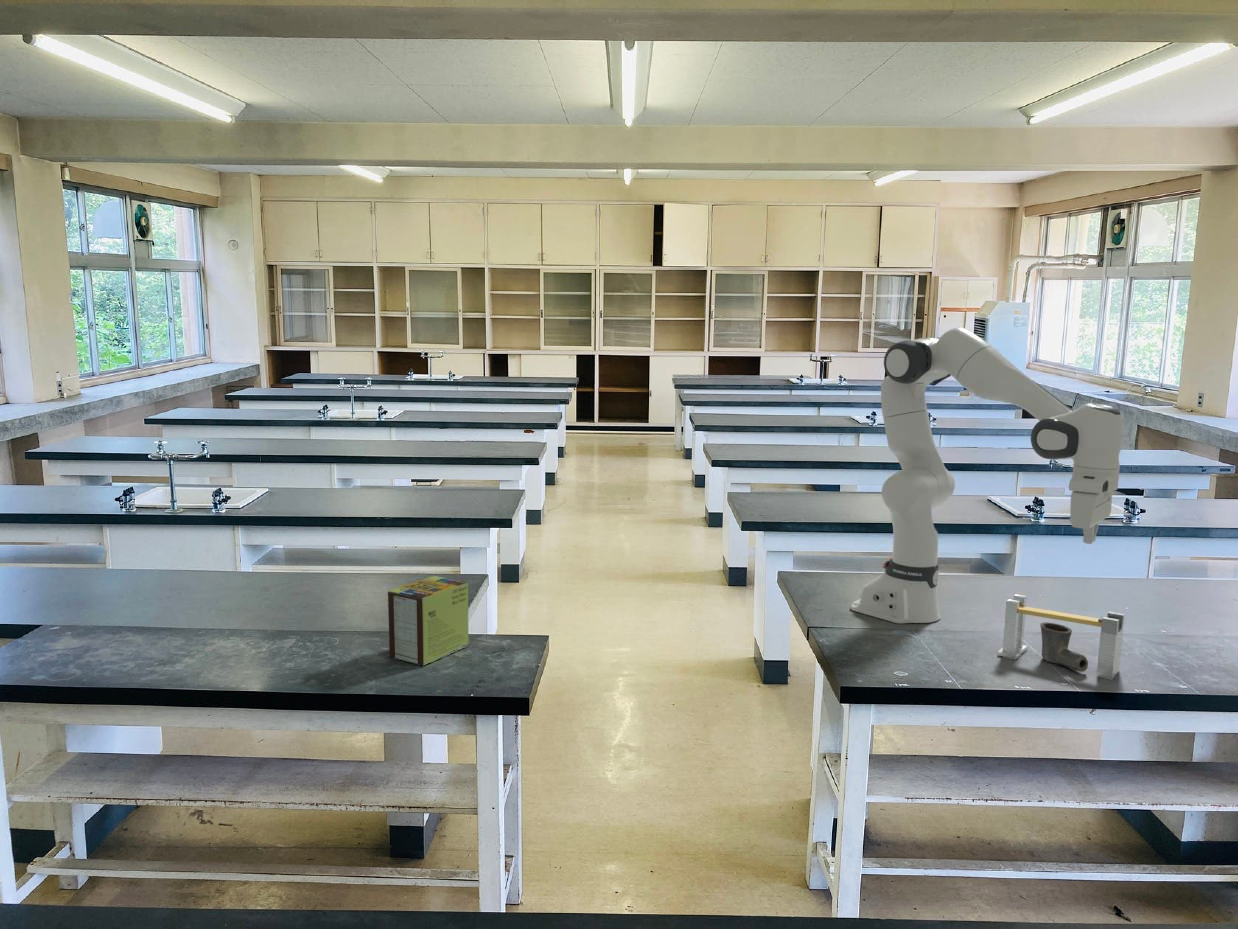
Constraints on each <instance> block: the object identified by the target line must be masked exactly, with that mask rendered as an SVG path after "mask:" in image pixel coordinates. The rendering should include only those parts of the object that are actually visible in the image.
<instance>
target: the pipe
mask: <svg viewBox="0 0 1238 929" xmlns="http://www.w3.org/2000/svg"><path fill="white" fill-rule="evenodd" d="M1039 626H1040V630H1041V657H1042V659H1043V660H1045V661H1046V662H1048V663H1052V664H1058V665H1061V666H1063V667H1066V668H1067V669H1070V670H1073V671H1076V672H1081V673H1084V672H1086V670H1087V669H1088V667H1089V662H1088V659H1087V657H1086V656H1085V655H1084V654H1081V653H1078V652H1076V651H1072V650H1069V644H1070V639H1071V637H1072V636H1071V635H1072V633H1073V630H1072V629H1071V628H1070V627H1068V626H1066V625H1063V624H1059V623H1055V622H1047V621H1046V622H1044V621H1043V622H1040V624H1039Z"/></svg>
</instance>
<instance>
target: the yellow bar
mask: <svg viewBox="0 0 1238 929" xmlns="http://www.w3.org/2000/svg"><path fill="white" fill-rule="evenodd" d="M1019 613H1020V614H1025V616H1026V615H1027V616H1031V617H1038V618H1039V617H1040V618H1045V619H1052V620H1056V621H1057V620H1058V621H1064V622H1069V623H1075V624H1081V625H1087V626H1093V627H1094V626H1095V627H1098V628H1101V625H1102V618H1103V617H1105V616H1104V615H1101V616H1100V617H1092V616H1086V615H1082V614H1081V615H1080V614H1074V613H1068V612H1061V611H1057V610H1050V609H1043V608H1037V607H1032V606H1031V607H1030V606H1026V607H1025V606H1020V605H1019ZM1108 618H1110V617H1108ZM1113 619H1116V618H1113Z"/></svg>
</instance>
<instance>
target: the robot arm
mask: <svg viewBox="0 0 1238 929" xmlns="http://www.w3.org/2000/svg"><path fill="white" fill-rule="evenodd" d="M883 369H884V371H885V373H886V375H887V376H885V377H884V379H883V380H882V382H881V384H880V385H881V386H880V404H881V411H882V419H883V425H884V429H885V430H884V431H885V435H886V441H887V445H888V448H889V450H890V451H891V453H892V454H894V455H895V457H896V459H897V461H898V463H899V465H900V468H901V470H899V471H897V472H895V473H893V474H892V475H891V476H889V477H888V478H887V479H886V480H885V481H884V483H883V484H882V487H881V499H882V501H883V503H884V505H885V506H886V507H887V508H888V511H889V513H890V517H891V518H890V519H891V523H892V530H893V531H892V532H893V540H892V541H893V542H892V557H891V558H889V559H888V560H887V561H885V563H883V564H882V565H883V566H882V569H884V573H882V574H880V575H878V576H877V577H875V578H874V579H872V580H870V581H868V582H867V583H866V584H865V585H864V586H863V588H862V590H861V593H860V598H858V599H856V600H854V601H853V602H852V603H851V606H850V609H851V611H853V612H857V613H861V614H863V615H868V616H871V617H874V618H876V619H877V618H878V619H881V620H885V621H888V622H892V623H894V624H910V623H911V624H913V623H914V624H919V623H920V624H927V623H928V624H929V623H934V622H937V621H939V620H940V619H941V614H940V610H939V605H938V597H937V596H938V595H937V594H938V593H937V586H938V582H939V564H938V555H939V554H938V553H939V540H940V539H939V538H940V536H939V532H938V531H937V529H936V528H935V525H934V522H933V516H932V508H934V507H938V506H941V505H943V504H944V503H945V502H946V501H947V500H948V499H950V497H952V495H953V494H954V492H955V488H956V485H955V479H954V475H953V474H952V473H951V472H950V471H949V470H948V469H947V468H946V467H945V466H946V465H945V464H944V462H943V460H942V458H941V455H940V453H939V451H938V449H937V446H936V444H935V440H934V437H933V432H932V427H931V422H930V417H929V412H928V405H927V401H926V396H925V395H926V394H925V393H926V390H927V388H928V386H929V385H930V386H936V385H938V384H939V383H941V382H942V381H945V380H946V379H948V378H949V377H953V379H954V380H956V381H957V383H958V384H960V385H961V386H962V387H963V388H965V390H966V391H968V392H970V393H971V394H973V395H975V396H977V397H979V398H981V399H984V400H988V401H996V402H1001V403H1006V404H1011V405H1013V406H1017V407H1019V408H1021V409H1023V410H1024V411H1026V412H1027V413H1029V414H1030V415H1031V416H1033V417H1034V418H1035V419H1037V420H1038V422H1036V424H1034V427H1032V430H1031V433H1030V444H1031V447H1032V449H1033V451H1034V452H1035V454H1037V455H1038V456H1039V457H1041V458H1043V459H1046V460H1049V461H1050V460H1051V461H1058V460H1073V461H1072V462H1073V467H1072V468H1073V470H1072V477H1071V479H1070V481H1069V484H1068V490H1069V491H1070V492H1071V494H1070V510H1069V511H1070V516H1069V517H1070V518H1069V519H1070V524H1071V527H1073V528H1077V529H1082V533H1083V540H1082V542H1083V543H1084V544H1089V545H1092V544H1093V543H1094V542H1095V541H1096V536H1097V532H1098V529H1099V527H1100V526H1099V524H1100V522H1102V521H1103V520H1105V519H1108V518H1109V517H1110V515H1111V512H1112V504H1113V502H1112V500H1113V491H1117V490H1118V488H1119V480H1120V478H1119V477H1120V469H1121V465H1120V460H1119V459H1120V457H1119V456H1120V453H1121V451H1122V448H1123V437H1124V436H1123V433H1124V430H1123V429H1124V428H1123V426H1124V421H1123V416H1122V413H1121V412H1120V410H1119V409H1117V408H1115V407H1114V406H1110V405H1107V404H1102V403H1097V402H1096V403H1095V402H1088V403H1083V404H1082V405H1081V406H1080V407H1078V408H1076V409H1073V408H1071V407H1070V406H1068V405H1067V404H1066V403H1065V402H1063V401H1062V400H1060V399H1059V398H1058V397H1057V396H1055V395H1054V394H1052V393H1051V392H1050V391H1048V390H1047V389H1046V388H1044V387H1043V386H1041V385H1040V384H1039V383H1037V382H1036V381H1035V380H1034V379H1031V378H1030V377H1029V376H1027V374H1025V373H1024V372H1023V371H1022V370H1020V369H1019V368H1018V367H1017V366H1015V365H1014V364H1013V363H1012V362H1011V361H1010V360H1008V359H1007V358H1006V357H1005V356H1004V355H1003V354H1002V353H1000V352H999V351H998V350H997V349H996V348H994V347H993V346H992V345H991V344H990V343H988V342H987V341H985V339H983V338H981V337H980V336H978V335H977V334H975V333H973V332H971V331H970V330H968V329H967V328H963V327H954V328H951V329H949V330H947V331H946V332H944V333H943V334H942V335H941V336H940V337H919V338H915V339H911V340H906V339H905V340H902V341H899V342H896V343H894V344H892V345H891V346H890V347H889V348H888V349H887V350H886V352H885V354H884V358H883Z"/></svg>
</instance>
